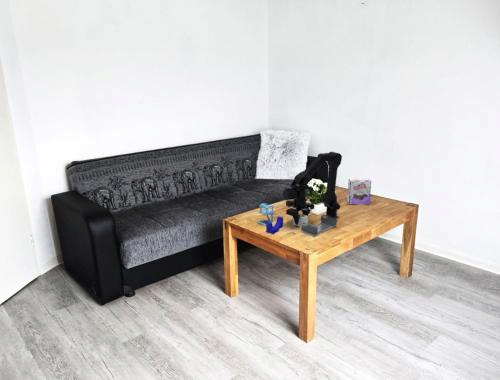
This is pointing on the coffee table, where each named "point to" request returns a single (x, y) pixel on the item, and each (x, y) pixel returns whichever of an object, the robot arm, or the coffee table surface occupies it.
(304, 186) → the robot arm
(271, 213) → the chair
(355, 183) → the candy box
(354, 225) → the coffee table surface
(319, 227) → the rail
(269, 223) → the cable clip
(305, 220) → the module
